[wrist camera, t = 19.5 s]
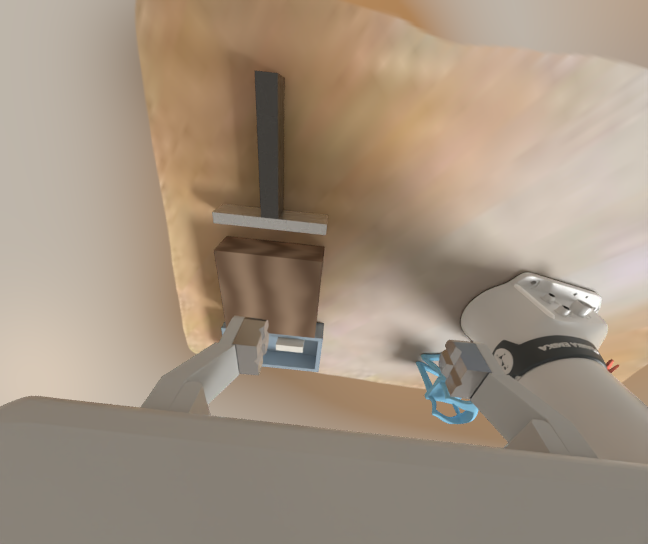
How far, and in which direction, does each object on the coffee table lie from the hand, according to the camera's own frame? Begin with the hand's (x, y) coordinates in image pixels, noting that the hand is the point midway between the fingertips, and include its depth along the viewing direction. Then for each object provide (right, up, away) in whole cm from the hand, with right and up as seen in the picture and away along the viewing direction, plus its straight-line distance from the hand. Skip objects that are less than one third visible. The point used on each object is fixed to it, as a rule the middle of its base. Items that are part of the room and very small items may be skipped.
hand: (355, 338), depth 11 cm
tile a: (-8, -9, +36) cm, 38 cm away
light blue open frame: (+23, -17, +43) cm, 52 cm away
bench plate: (-10, +1, +34) cm, 35 cm away
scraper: (-8, +19, +22) cm, 31 cm away
